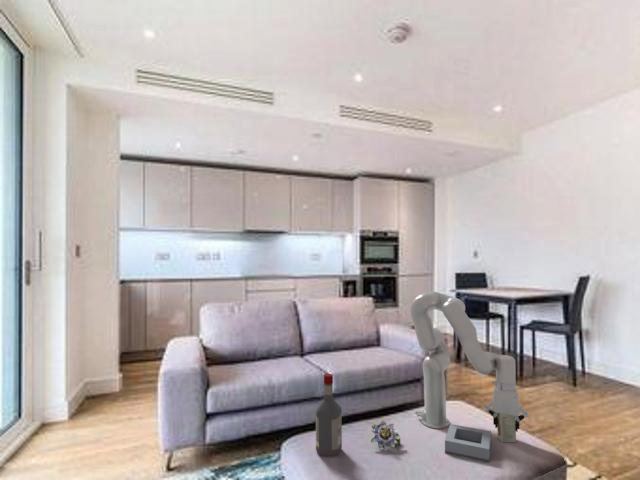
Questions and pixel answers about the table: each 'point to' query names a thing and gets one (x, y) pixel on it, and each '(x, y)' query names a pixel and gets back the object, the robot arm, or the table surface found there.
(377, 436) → the passion flower
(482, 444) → the socket block
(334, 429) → the liquor
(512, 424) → the skincare box
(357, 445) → the table surface
